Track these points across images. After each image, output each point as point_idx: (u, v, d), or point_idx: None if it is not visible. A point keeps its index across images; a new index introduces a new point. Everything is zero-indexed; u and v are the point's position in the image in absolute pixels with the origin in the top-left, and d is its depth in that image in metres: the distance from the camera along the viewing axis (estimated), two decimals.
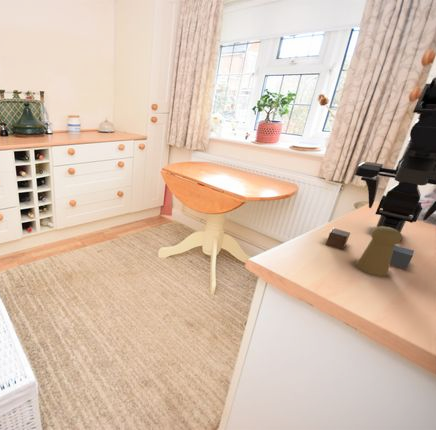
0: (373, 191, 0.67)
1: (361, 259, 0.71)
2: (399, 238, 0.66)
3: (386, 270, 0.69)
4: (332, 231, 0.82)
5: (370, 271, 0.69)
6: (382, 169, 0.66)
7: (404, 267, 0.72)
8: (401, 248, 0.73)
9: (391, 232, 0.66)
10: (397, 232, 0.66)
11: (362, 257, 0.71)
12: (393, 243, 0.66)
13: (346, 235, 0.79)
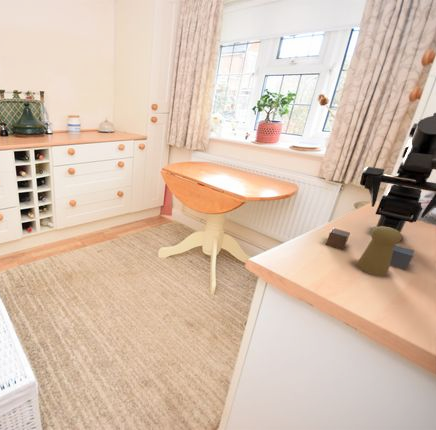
0: (377, 189, 0.75)
1: (361, 259, 0.71)
2: (399, 238, 0.66)
3: (386, 270, 0.69)
4: (332, 231, 0.82)
5: (370, 271, 0.69)
6: None
7: (404, 267, 0.72)
8: (401, 248, 0.73)
9: (391, 232, 0.66)
10: (397, 232, 0.66)
11: (362, 257, 0.71)
12: (393, 243, 0.66)
13: (346, 235, 0.79)
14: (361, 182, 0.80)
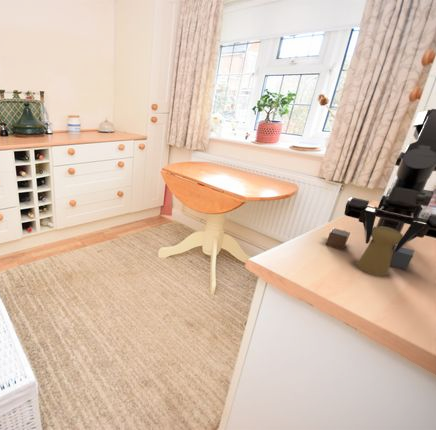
0: (371, 225, 0.70)
1: (361, 259, 0.71)
2: (399, 238, 0.66)
3: (386, 270, 0.69)
4: (332, 231, 0.82)
5: (370, 271, 0.69)
6: None
7: (404, 267, 0.72)
8: (401, 248, 0.73)
9: (392, 232, 0.66)
10: (397, 232, 0.66)
11: (362, 257, 0.71)
12: (393, 243, 0.66)
13: (346, 235, 0.79)
14: (345, 213, 0.77)
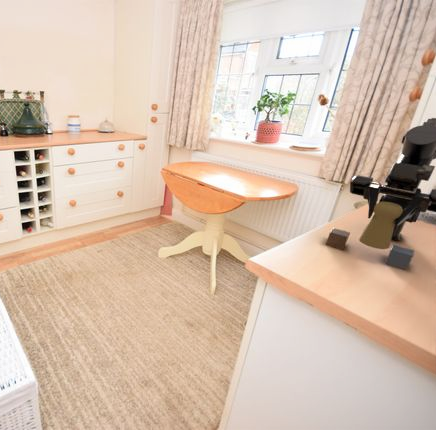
0: (374, 201, 0.73)
1: (363, 233, 0.75)
2: (400, 212, 0.68)
3: (387, 243, 0.72)
4: (332, 231, 0.82)
5: (371, 244, 0.73)
6: None
7: (404, 267, 0.72)
8: (401, 248, 0.73)
9: (392, 206, 0.69)
10: (398, 206, 0.69)
11: (364, 232, 0.74)
12: (394, 217, 0.69)
13: (346, 235, 0.79)
14: (351, 190, 0.80)
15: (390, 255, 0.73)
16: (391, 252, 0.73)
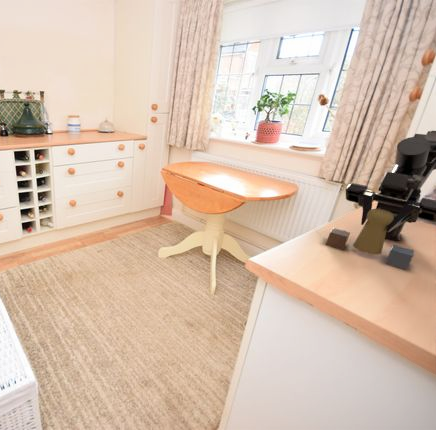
0: (367, 208, 0.76)
1: (357, 239, 0.78)
2: (391, 219, 0.72)
3: (379, 249, 0.75)
4: (332, 231, 0.82)
5: (364, 249, 0.76)
6: None
7: (404, 267, 0.72)
8: (401, 248, 0.73)
9: (383, 213, 0.72)
10: (389, 213, 0.72)
11: (358, 237, 0.78)
12: (385, 223, 0.72)
13: (346, 235, 0.79)
14: (347, 197, 0.83)
15: (390, 255, 0.73)
16: (391, 252, 0.73)
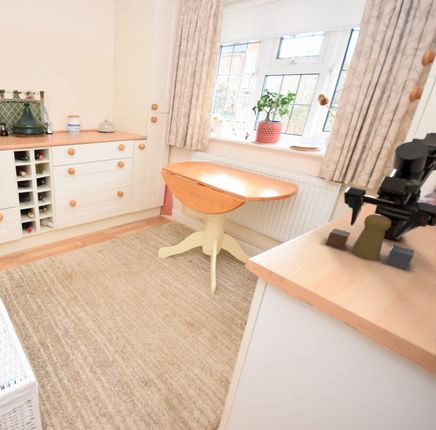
0: (356, 209, 0.78)
1: (354, 244, 0.79)
2: (388, 225, 0.72)
3: (376, 254, 0.75)
4: (332, 231, 0.82)
5: (361, 255, 0.77)
6: None
7: (404, 267, 0.72)
8: (401, 248, 0.73)
9: (381, 219, 0.73)
10: (387, 219, 0.73)
11: (355, 242, 0.78)
12: (382, 229, 0.73)
13: (346, 235, 0.79)
14: (345, 201, 0.83)
15: (390, 255, 0.73)
16: (391, 252, 0.73)
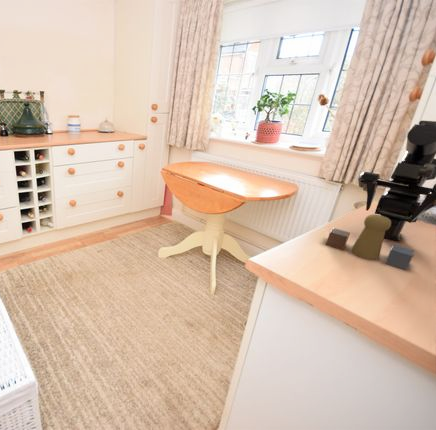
0: (371, 194, 0.81)
1: (354, 244, 0.79)
2: (388, 225, 0.72)
3: (376, 254, 0.75)
4: (332, 231, 0.82)
5: (361, 255, 0.77)
6: None
7: (404, 267, 0.72)
8: (401, 248, 0.73)
9: (381, 219, 0.73)
10: (387, 219, 0.73)
11: (355, 242, 0.78)
12: (382, 229, 0.73)
13: (346, 235, 0.79)
14: (359, 185, 0.86)
15: (390, 255, 0.73)
16: (391, 252, 0.73)
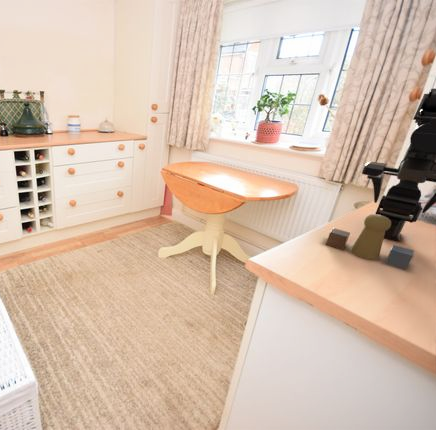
0: (378, 188, 0.76)
1: (354, 244, 0.79)
2: (388, 225, 0.72)
3: (376, 254, 0.75)
4: (332, 231, 0.82)
5: (361, 255, 0.77)
6: (386, 168, 0.74)
7: (404, 267, 0.72)
8: (401, 248, 0.73)
9: (381, 219, 0.73)
10: (387, 219, 0.73)
11: (355, 242, 0.78)
12: (382, 229, 0.73)
13: (346, 235, 0.79)
14: None
15: (390, 255, 0.73)
16: (391, 252, 0.73)
